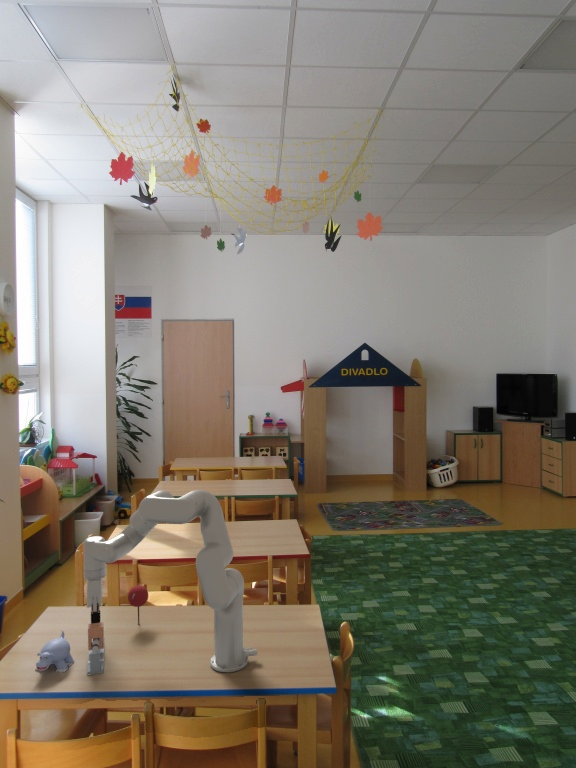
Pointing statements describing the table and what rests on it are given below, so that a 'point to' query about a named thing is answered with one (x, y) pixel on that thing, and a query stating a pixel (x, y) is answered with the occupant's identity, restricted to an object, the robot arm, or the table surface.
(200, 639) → the table surface
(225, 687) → the table surface
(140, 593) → the lollipop
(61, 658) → the hippopotamus toy
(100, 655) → the rail
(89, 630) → the collar
